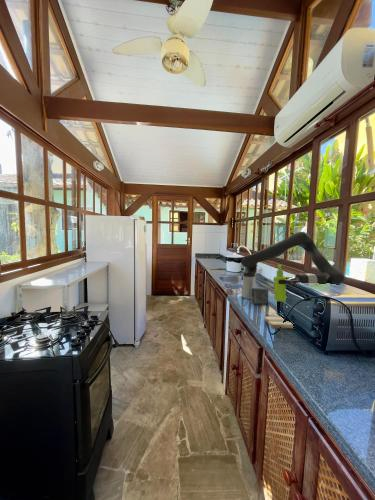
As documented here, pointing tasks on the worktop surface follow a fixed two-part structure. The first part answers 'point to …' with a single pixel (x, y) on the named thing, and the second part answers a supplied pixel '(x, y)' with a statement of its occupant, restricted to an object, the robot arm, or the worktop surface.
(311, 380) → the worktop surface
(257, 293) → the small box
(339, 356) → the worktop surface
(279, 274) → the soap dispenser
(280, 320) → the birch board
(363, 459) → the worktop surface
